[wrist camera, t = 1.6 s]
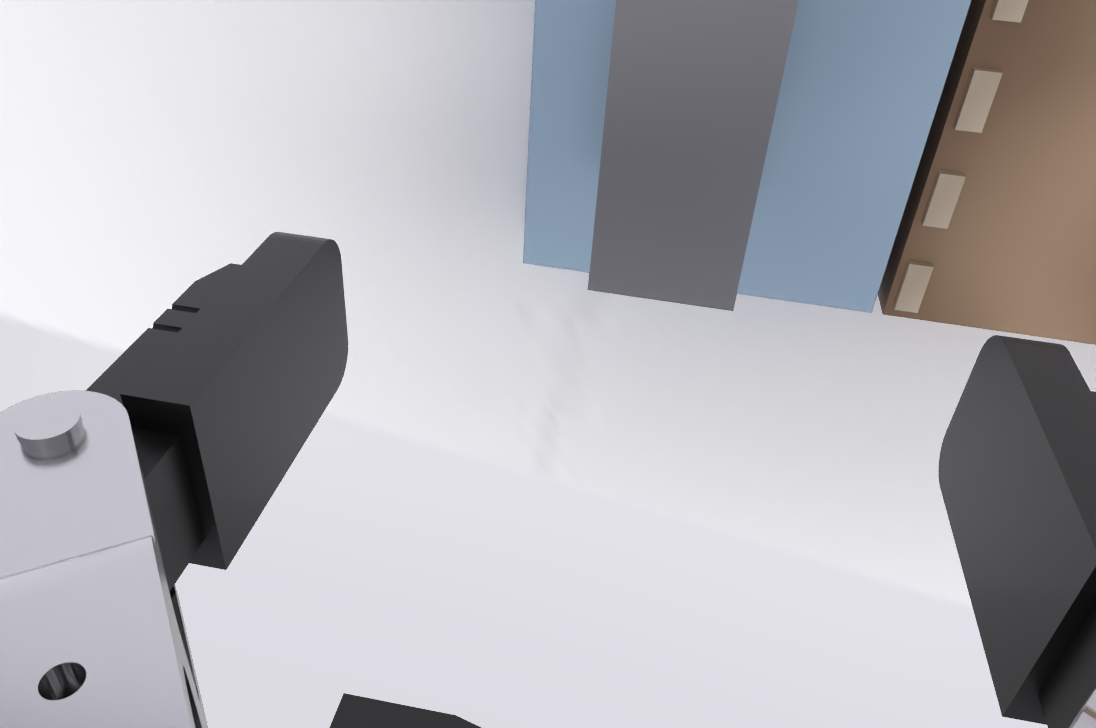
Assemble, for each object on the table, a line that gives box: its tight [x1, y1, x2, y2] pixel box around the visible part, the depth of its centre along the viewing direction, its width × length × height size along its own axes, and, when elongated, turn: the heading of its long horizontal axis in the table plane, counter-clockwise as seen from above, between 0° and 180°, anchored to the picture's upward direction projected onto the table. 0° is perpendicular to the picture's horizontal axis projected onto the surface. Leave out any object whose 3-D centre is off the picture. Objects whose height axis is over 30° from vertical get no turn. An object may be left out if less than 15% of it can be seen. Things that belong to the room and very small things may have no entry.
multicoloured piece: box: [523, 0, 971, 313], centre depth 20 cm, size 10×12×8 cm
